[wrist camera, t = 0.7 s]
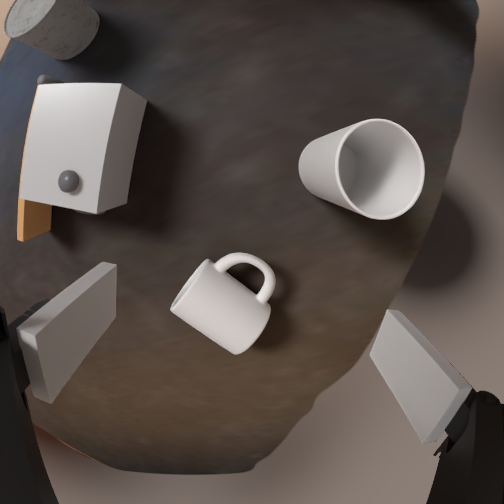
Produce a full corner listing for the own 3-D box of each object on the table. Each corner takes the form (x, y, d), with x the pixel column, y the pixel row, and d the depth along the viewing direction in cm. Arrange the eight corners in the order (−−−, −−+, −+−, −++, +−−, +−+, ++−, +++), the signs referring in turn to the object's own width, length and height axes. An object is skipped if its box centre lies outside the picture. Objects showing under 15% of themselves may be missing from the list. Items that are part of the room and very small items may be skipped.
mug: (233, 333, 43) (231, 366, 35) (177, 293, 41) (163, 320, 33) (288, 273, 41) (298, 297, 33) (230, 227, 39) (226, 241, 31)
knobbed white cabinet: (74, 96, 33) (35, 83, 23) (147, 100, 34) (118, 81, 24) (56, 196, 37) (15, 206, 27) (125, 210, 38) (92, 223, 28)
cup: (313, 209, 38) (358, 236, 23) (288, 150, 36) (318, 138, 21) (367, 185, 38) (435, 198, 22) (344, 128, 35) (403, 106, 20)
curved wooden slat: (64, 85, 32) (35, 75, 25) (74, 85, 32) (46, 74, 25) (42, 227, 38) (12, 239, 30) (51, 230, 38) (22, 242, 31)
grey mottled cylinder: (111, 15, 30) (75, -22, 18) (74, 67, 32) (26, 44, 20) (73, 4, 28) (35, -27, 16) (39, 52, 30) (-6, 31, 18)
